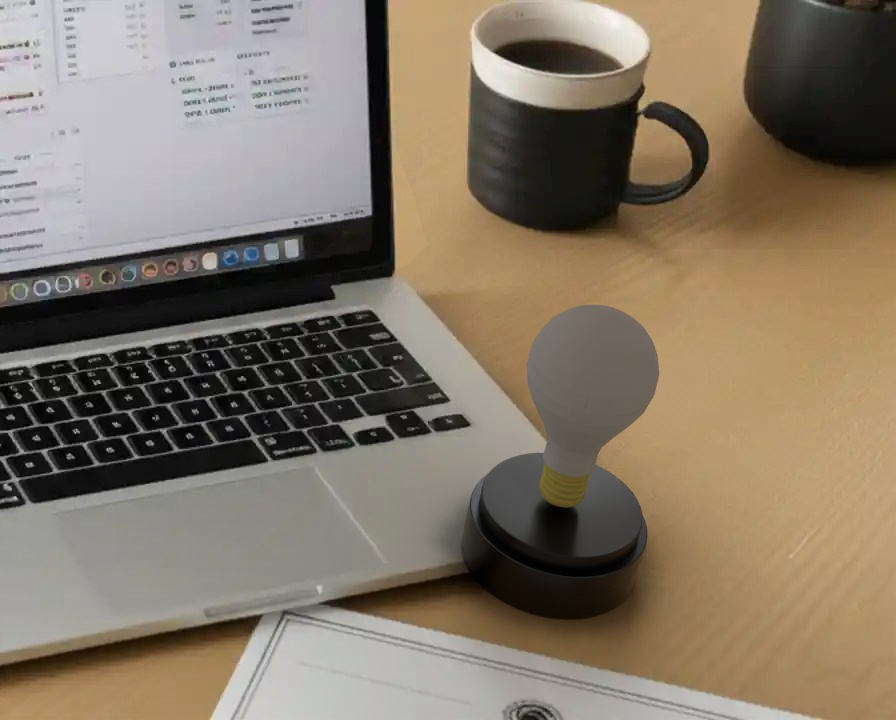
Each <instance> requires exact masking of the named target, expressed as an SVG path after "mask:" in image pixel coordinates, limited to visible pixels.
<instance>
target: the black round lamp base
mask: <svg viewBox="0 0 896 720" xmlns="http://www.w3.org/2000/svg"><path fill="white" fill-rule="evenodd" d="M543 454H544V452H531V453H524V454H519V455H514V456H511V457H509V458H507V459H504V460H502V461H500V462H499V463H497V464H496V465H495V466H494V467H493V468H491V469H490V471H489V472H488V473H487V474H485V475H484V476H483V477H482V478H481V479H480V480H479V481H478V482H477V484H476V485H475V487H474V488H473V490H472V492H471V495H470V499H469V504H468V509H467V513H466V517H465V522H464V527H463V530H462V531H463V532H462V536H461V544H460V546H461V554H462V557H463V561H464V563H465V565H466V567H467V570H468V571H469V572H470V574H471V575H472V577H473V578H474V579H475V580H476V582H477V583H478V584H479V585H480V586H481V587H483V588H484V589H485V591H487V592H488V593H489V594H491V596H494V597H496V599H498V600H499V601H502V602H503V603H505V604H506V605H508V606H512V607H513V608H515V609H518V610H520V611H523V612H525V613H529V614H532V615H535V616H541V617H544V618H550V619H557V620H559V619H560V620H578V619H579V620H581V619H587V618H592V617H593V618H594V617H597V616H601V615H604V614H606V613H608V612H609V611H610V612H611V611H612V610H614V609H615V608H617V607H618V606H619V605H621V604H623V602H625V600H626V599H627V598H629V595H630V594H631V592H632V591H633V589H634V587H635V584H636V579H637V577H638V573H639V570H640V567H641V564H642V560H643V557H644V553H645V551H646V547H647V543H648V527H647V523H646V520H645V517H644V516H643V511H642V507H641V504H640V502H639V500H638V498H637V497H636V495H635V493H634V492H633V491H632V490H631V489H630V487H629V486H628V485H626V484H625V482H624V481H622V480H621V479H620V478H619V477H617V476H616V475H615V474H613V473H612V472H611V471H609V470H607V469H606V468H603V467H601V466H599V465H597V464H596V465H595V468H594V470H593V471H592V472H591V474H590V478H589V480H588V485H587V487H586V492H585V494H584V498H583V500H582V501H581V502H580V503H579V504H578V505H576V506H574V507H568V508H566V507H558V506H555V505H553V504H551V503H549V502H547V501H546V500H545V499H544V498H543V497H542V495H541V493H540V490H539V484H540V480H541V475H542V472H543V468H544V458H543Z"/></svg>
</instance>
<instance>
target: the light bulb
mask: <svg viewBox="0 0 896 720" xmlns="http://www.w3.org/2000/svg"><path fill="white" fill-rule="evenodd" d="M659 378H660V365H659V355H658V352H657V349H656V346H655V343H654V341H653V339H652V338H651V336H650V334H649V333H648V331H647V330H646V328H645V327H644V326H643V325H642V323H640V322H639V321H638V320H637V319H635V317H633V316H631V315H630V314H628V313H626V312H624V311H622V310H621V309H618V308H615V307H613V306H608V305H603V304H582V305H581V304H580V305H577V306H573V307H570V308H568V309H565V310H563V311H562V312H560V313H558V314H556V315H554V316H553V317H552V318H551V319H550V320H549V321H547V323H545V324H544V325H543V326H542V328H541V329H540V331H538V333H537V334H536V336H535V338H534V339H533V341H532V342H531V345H530V349H529V353H528V357H527V360H526V380H527V381H526V383H527V387H528V391H529V393H530V396H531V399H532V403H533V404H534V406H535V408H536V411H537V413H538V415H539V417H540V419H541V422H542V425H543V427H544V429H545V433H546V442H545V443H546V444H545V448H544V451H543V453H544V454H543V458H544V468H543V472H542V475H541V480H540V484H539V490H540V493H541V495H542V497H543V498H544V499H545V500H546V501H547V502H549V503H551V504H553V505H555V506H558V507H566V508H568V507H574V506H576V505H578V504H579V503H580V502H581V501H582V500H583V498H584V494H585V492H586V487H587V485H588V480H589V478H590V474H591V472H592V471H593V470H594V468H595V465H597V460H598V456H599V453H600V452H601V450H602V448H603V447H604V446H606V445H607V444H608V443H609V442H611V441H612V440H613V439H614V438H616V437H617V436H618V435H619V434H621V433H623V432H624V431H625V430H626V429H627V428H629V427H631V426H632V425H633V424H634V423H635V422H636V421H637V420H638V419H639V418H641V416H643V415H644V413H645V412H646V410H647V409H648V407H649V405H650V404H651V402H652V400H653V399H654V396H655V394H656V391H657V386H658V383H659Z"/></svg>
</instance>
